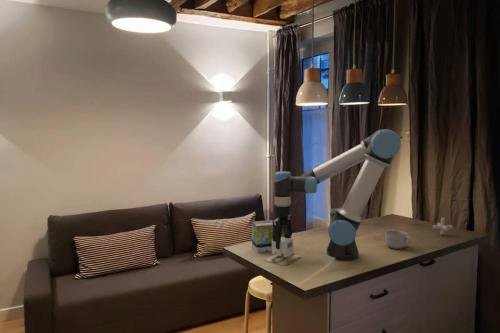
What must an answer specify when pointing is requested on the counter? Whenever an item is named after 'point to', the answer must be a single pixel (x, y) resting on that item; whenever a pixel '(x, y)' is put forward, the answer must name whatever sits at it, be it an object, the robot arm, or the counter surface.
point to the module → (284, 246)
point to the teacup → (396, 239)
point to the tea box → (263, 236)
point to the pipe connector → (442, 226)
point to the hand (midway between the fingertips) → (282, 253)
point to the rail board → (283, 259)
